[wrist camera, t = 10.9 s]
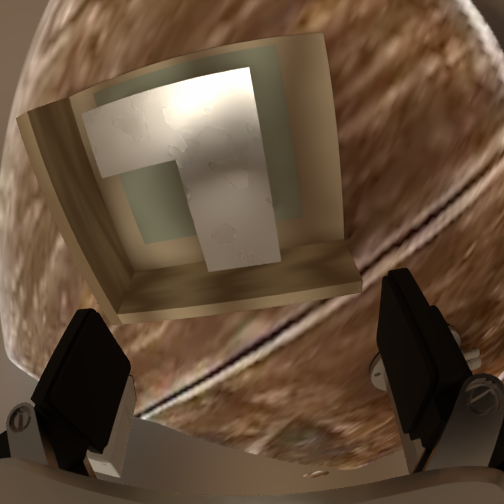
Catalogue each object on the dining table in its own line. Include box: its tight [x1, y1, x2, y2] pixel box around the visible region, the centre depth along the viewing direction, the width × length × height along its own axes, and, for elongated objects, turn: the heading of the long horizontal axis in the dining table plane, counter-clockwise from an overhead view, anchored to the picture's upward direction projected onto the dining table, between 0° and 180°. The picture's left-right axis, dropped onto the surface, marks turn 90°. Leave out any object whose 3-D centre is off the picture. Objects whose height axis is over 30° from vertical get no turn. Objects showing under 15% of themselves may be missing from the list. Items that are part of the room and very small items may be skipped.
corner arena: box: [16, 33, 363, 325], centre depth 19 cm, size 18×16×6 cm
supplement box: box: [86, 376, 136, 477], centre depth 32 cm, size 7×7×13 cm
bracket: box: [82, 67, 281, 272], centre depth 17 cm, size 10×8×6 cm
